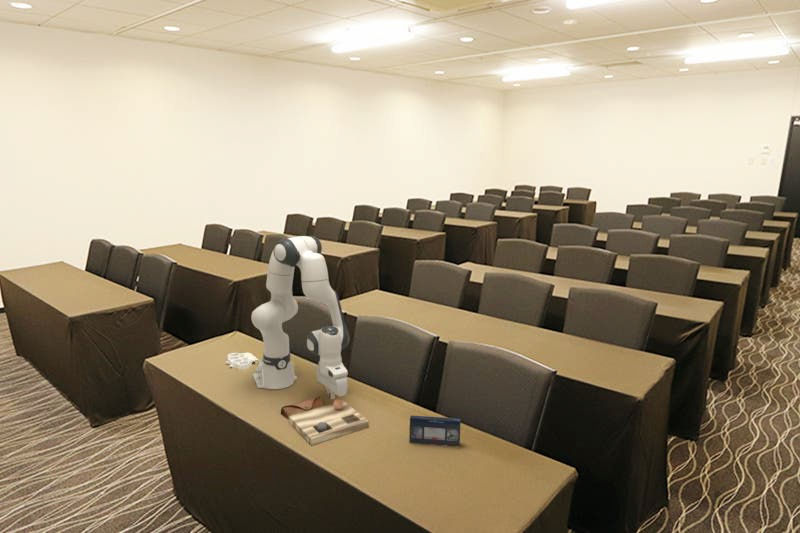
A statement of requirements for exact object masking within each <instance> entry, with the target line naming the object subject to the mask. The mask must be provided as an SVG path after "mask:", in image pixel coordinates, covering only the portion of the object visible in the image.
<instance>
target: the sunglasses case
mask: <svg viewBox="0 0 800 533" xmlns="http://www.w3.org/2000/svg"><path fill="white" fill-rule="evenodd" d="M323 406H326V405H325V403H324V401H322V399H321V396H316V397H313V398H310V399H305V400H302V401H298V402H295V403H293V404H289V405H285V406H282V407H281V409H280V414H281V415H282V416H283V417H284V419H287V420H288V421H289V416H291V415H295V414H298V413H302V412H305V411H309V410H312V409H316V408H319V407H323Z"/></svg>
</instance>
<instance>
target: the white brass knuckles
mask: <svg viewBox="0 0 800 533" xmlns="http://www.w3.org/2000/svg"><path fill="white" fill-rule="evenodd" d="M226 359H227V360H226V361H225V362H224V364H231V365H228V366H229V367H230V368H231V367H236V368H238V369H247V368H249V367H250V368H251V366H250V365H252V363H254V362H253V361H255V360H257V361H258V362H259V363H261V360H260V359H258V358H257V357H256V356H255V355H253V353H251V352H243V353H239V352H231V353H228V354H227V356H226ZM250 368H249V369H250Z"/></svg>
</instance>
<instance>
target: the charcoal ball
mask: <svg viewBox="0 0 800 533" xmlns="http://www.w3.org/2000/svg"><path fill="white" fill-rule="evenodd" d="M316 429H317V431H318V432H319V433H321V432H324V431H326V430H327V425H326V423H324V422H320V423H318V424H317V427H316Z"/></svg>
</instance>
